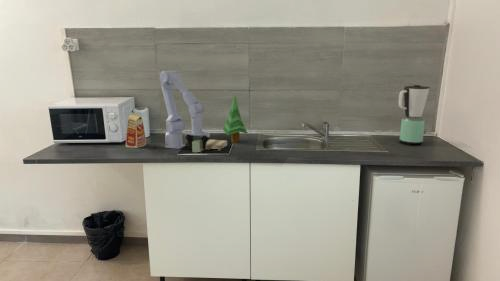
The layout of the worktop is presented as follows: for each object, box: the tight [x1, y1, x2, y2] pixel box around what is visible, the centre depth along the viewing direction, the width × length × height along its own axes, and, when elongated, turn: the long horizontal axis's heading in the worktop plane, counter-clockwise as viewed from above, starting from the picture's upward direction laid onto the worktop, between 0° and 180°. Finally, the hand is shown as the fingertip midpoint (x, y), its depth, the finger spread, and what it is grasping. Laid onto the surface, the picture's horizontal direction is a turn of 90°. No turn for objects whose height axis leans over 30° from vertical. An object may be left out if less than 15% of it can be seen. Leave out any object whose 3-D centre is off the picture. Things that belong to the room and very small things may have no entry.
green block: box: [191, 139, 204, 153], centre depth 203 cm, size 4×4×6 cm
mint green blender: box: [397, 84, 431, 146], centre depth 217 cm, size 19×13×35 cm
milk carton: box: [125, 112, 147, 149], centre depth 214 cm, size 9×9×20 cm
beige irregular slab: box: [204, 139, 228, 151], centre depth 212 cm, size 11×11×3 cm
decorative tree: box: [222, 94, 248, 144], centre depth 222 cm, size 14×16×30 cm
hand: (197, 148), depth 204 cm, fingers open, 7 cm apart
